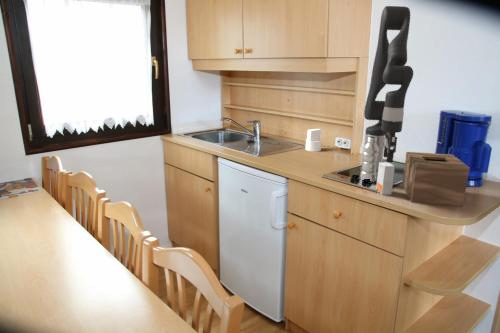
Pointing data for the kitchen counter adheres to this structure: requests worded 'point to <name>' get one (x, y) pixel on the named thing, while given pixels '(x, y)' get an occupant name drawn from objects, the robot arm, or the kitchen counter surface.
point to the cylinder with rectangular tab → (313, 140)
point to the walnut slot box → (435, 178)
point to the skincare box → (385, 178)
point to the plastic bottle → (370, 159)
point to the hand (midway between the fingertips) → (387, 159)
